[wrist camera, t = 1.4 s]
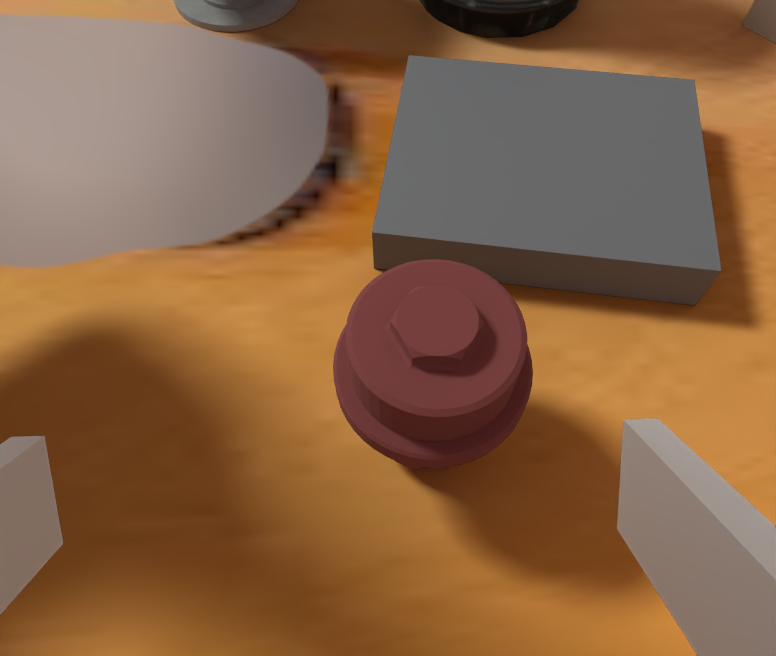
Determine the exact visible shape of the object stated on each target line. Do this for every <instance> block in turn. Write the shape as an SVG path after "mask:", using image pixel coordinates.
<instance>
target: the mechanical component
mask: <svg viewBox="0 0 776 656" xmlns="http://www.w3.org/2000/svg"><path fill="white" fill-rule="evenodd" d="M333 371H334V382H335V387H336V392H337V397H338V400H339V403H340V407H341V409H342V411H343V413H344V415H345V417H346V419H347V421H348V422H349V424H350V425H351V427H352V428H353V430H354V431H355V432H356V433H357V434H358V435H359V436H360V437H361V438H362V439H363V440H364V441H365V442H366V443H367V444H369V445H370V446H371V447H372V448H374V449H375V450H377V451H378V452H380V453H382V454H383V455H385V456H387V457H389V458H391V459H394V460H395V461H396V462H398V463H400V464H402V465H404V466H407V467H411V468H414V469H420V470H439V469H443V468H448V467H450V466H456V465H461V464H464V463H467V462H470V461H473V460H475V459H477V458H479V457H481V456H483V455H486V454H487V453H489V452H490V451H491V450H493V449H494V448H496V447H497V446H498V445H499V444H501V443H502V442H503V441H504V440H505V439H506V438H507V437H508V436H509V434H510V433H511V432H512V430H513V429H514V428H515V427H516V425H517V423H518V421H519V419H520V417H521V415H522V413H523V411H524V408H525V406H526V404H527V401H528V399H529V395H530V391H531V387H532V377H533V370H532V360H531V355H530V351H529V348H528V345H527V332H526V326H525V322H524V319H523V316H522V313H521V311H520V309H519V307H518V305H517V303H516V302H515V300H514V299H513V297H512V296H511V295H510V294H509V292H508V291H507V290H506V289H505V288H504V287H503V286H502V285H501V284H500V283H499V282H498V281H496V280H495V279H493V278H492V277H491V276H489V275H488V274H486V273H484V272H482V271H480V270H478V269H477V268H474V267H472V266H469V265H466V264H463V263H459V262H455V261H450V260H440V259H426V260H418V261H412V262H408V263H405V264H401V265H398V266H396V267H394V268H391V269H389V270H387V271H385V272H384V273H382V274H381V275H379V276H377V277H376V278H375V279H374V280H372V281H371V282H370V283H369V284H368V285H367V286H366V287H365V288H364V289H363V290H362V292H361V293H360V294H359V295H358V297H357V299H356V300H355V302H354V304H353V305H352V308H351V310H350V313H349V316H348V319H347V324H346V326H345V328H344V329H343V331H342V333H341V335H340V338H339V340H338V342H337V346H336V350H335V354H334V364H333Z"/></svg>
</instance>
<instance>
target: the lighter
mask: <svg viewBox="0 0 776 656" xmlns="http://www.w3.org/2000/svg"><path fill="white" fill-rule="evenodd" d="M742 25H743V26H744V27H746V28H748V29H749V30H751V31H753V32H755V33H757V34H759V35H760V36H762V37H764V38H766V39H768V40H770V41H772V42H773V43H775V44H776V0H754V2H753V4H752V6H751V8H750V10H749V12H748V14H747V16H746V18H745V20H744V21H743V23H742Z"/></svg>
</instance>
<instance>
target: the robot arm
mask: <svg viewBox="0 0 776 656" xmlns="http://www.w3.org/2000/svg"><path fill="white" fill-rule="evenodd" d="M617 530H618V532H619V533H620V535H621V536H622V538H623V539H624V541H625V543H626V544H627V546H628V547H629V549H630V550H631V552H632V554H633V555H634V557H635V558H636V560H637V561H638V563H639V565H640V566H641V568H642V569H643V571H644V572H645V574H646V576H647V577H648V579H649V580H650V582H651V583H652V585H653V587H654V588H655V590H656V591H657V593H658V594H659V596H660V598H661V599H662V601H663V602H664V604H665V605H666V607H667V609H668V610H669V612H670V613H671V615H672V616H673V618H674V620H675V621H676V623H677V624H678V626H679V627H680V629H681V631H682V632H683V634H684V635H685V637H686V638H687V640H688V641H689V643H690V645H691V646H692V648H693V649H694V651H695V652H696V654H697V656H776V526H774V525H773V524H772V523H771V522H770V521H769V520H768V519H767V518H766V517H765V516H764V515H762V514H761V513H760V512H759V511H758V510H757V509H756V508H755V507H754V506H753V505H752V504H750V503H749V502H748V501H747V500H746V499H745V498H744V497H743V496H742V495H741V494H740V493H738V492H737V491H736V490H735V489H734V488H733V487H732V486H731V485H730V484H729V483H728V482H726V481H725V480H724V479H723V478H722V477H721V476H720V475H719V474H718V473H717V472H716V471H714V470H713V469H712V468H711V467H710V466H709V465H708V464H707V463H706V462H705V461H704V460H702V459H701V458H700V457H699V456H698V455H697V454H696V453H695V452H694V451H693V450H692V449H690V448H689V447H688V446H687V445H686V444H685V443H684V442H683V441H682V440H681V439H680V438H678V437H677V436H676V435H675V434H674V433H673V432H672V431H671V430H670V429H669V428H668V427H666V426H665V425H664V424H663V423H662V422H661V421H660V420H659V419H624V421H623V438H622V454H621V471H620V487H619V503H618V520H617ZM62 544H63V539H62V533H61V527H60V522H59V516H58V510H57V504H56V499H55V493H54V487H53V481H52V476H51V470H50V464H49V458H48V453H47V447H46V441H45V436H21V437H10V438H9V439H7V440H6V441H4V442H3V443H1V444H0V615H1V614H2V612H3V611H4V610H5V609H6V608H7V607H8V606H9V604H10V603H11V602H12V601H13V600H14V599H15V598H16V597H17V595H18V594H19V593H20V592H21V591H22V590H23V589H24V587H25V586H26V585H27V584H28V583H29V582H30V581H31V580H32V578H33V577H34V576H35V575H36V574H37V573H38V572H39V571H40V569H41V568H42V567H43V566H44V565H45V564H46V563H47V561H48V560H49V559H50V558H51V557H52V556H53V555H54V554H55V552H56V551H57V550H58V549H59V548H60V547H61V546H62Z"/></svg>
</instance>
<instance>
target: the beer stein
mask: <svg viewBox="0 0 776 656" xmlns="http://www.w3.org/2000/svg"><path fill="white" fill-rule="evenodd" d="M420 1H421V3H422V4H423V6H424V8H425V9H426V11H427V12H429V13H430V14H431V15H432V16H433V17H434V18H436V19H437V20H439V21H441V22H443V23H445V24H447V25H449V26H451V27H453V28H455V29H457V30H459V31H461V32H465V33H469V34H474V35H478V36H482V37H487V38H496V37H523V36H526V35H529V34H533V33H536V32H539V31H542V30H545V29H549V28H552V27H554V26H555V25H556V24H558V23H559V22H560V21H561V20H562V19H564V18H565V17H566V16H567V15H568V14H570V13H571V12H572V11H573V10H574V9H576V7H577V3H578V0H420Z"/></svg>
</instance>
